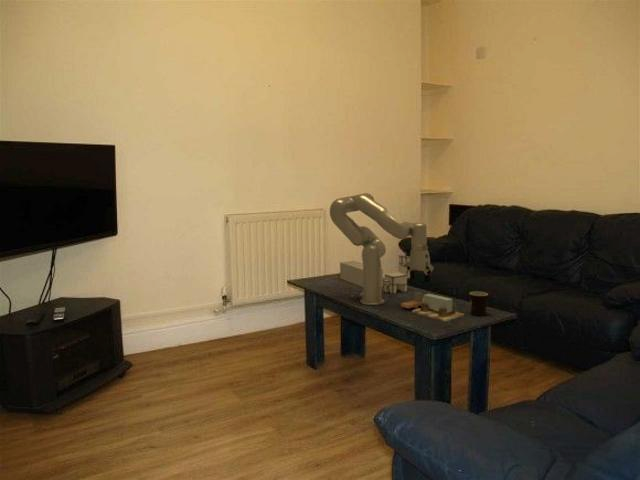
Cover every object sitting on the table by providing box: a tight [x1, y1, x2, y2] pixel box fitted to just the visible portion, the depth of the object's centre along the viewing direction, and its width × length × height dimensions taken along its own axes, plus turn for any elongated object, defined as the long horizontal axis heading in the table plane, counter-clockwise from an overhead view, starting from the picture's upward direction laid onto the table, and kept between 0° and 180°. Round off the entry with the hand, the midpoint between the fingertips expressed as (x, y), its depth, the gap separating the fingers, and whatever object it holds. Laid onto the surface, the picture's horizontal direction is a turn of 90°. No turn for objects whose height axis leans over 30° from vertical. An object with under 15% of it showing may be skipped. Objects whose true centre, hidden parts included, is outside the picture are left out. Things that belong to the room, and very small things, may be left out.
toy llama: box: [383, 254, 410, 295], centre depth 290 cm, size 8×18×20 cm, turn 119°
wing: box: [400, 291, 424, 310], centre depth 260 cm, size 5×20×7 cm, turn 128°
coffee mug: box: [469, 290, 489, 317], centre depth 247 cm, size 12×9×10 cm
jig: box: [411, 303, 465, 323], centre depth 247 cm, size 20×14×4 cm
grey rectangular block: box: [339, 260, 384, 288], centre depth 315 cm, size 32×11×11 cm, turn 28°
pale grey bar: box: [423, 293, 453, 313], centre depth 247 cm, size 14×4×6 cm, turn 39°
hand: (419, 281), depth 259 cm, fingers open, 9 cm apart
